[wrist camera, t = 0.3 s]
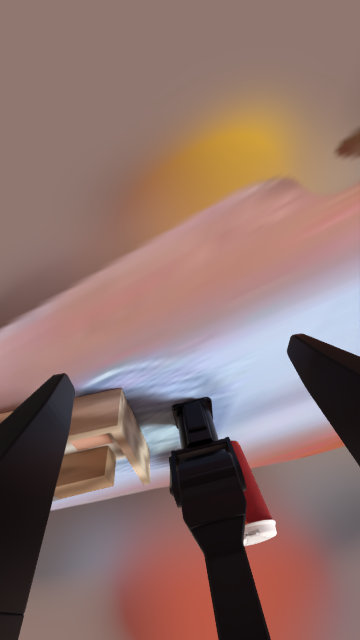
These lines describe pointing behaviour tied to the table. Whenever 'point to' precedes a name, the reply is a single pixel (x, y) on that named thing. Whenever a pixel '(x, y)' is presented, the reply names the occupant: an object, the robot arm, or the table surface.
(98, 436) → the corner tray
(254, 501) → the paper cup
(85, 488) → the walnut block
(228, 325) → the table surface
